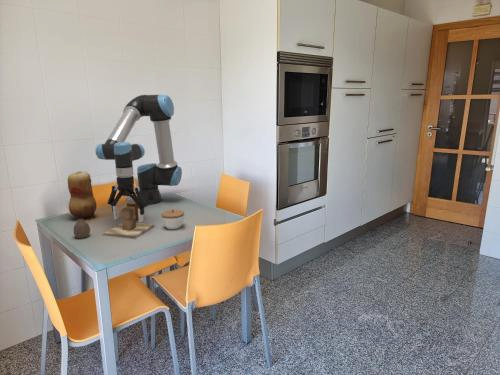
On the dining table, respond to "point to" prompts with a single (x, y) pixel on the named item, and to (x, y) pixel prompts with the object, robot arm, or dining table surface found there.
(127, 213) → the oak lid
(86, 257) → the dining table surface
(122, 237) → the rubber mat
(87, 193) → the butternut squash
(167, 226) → the lidded jar
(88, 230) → the vase
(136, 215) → the disposable coffee cup
